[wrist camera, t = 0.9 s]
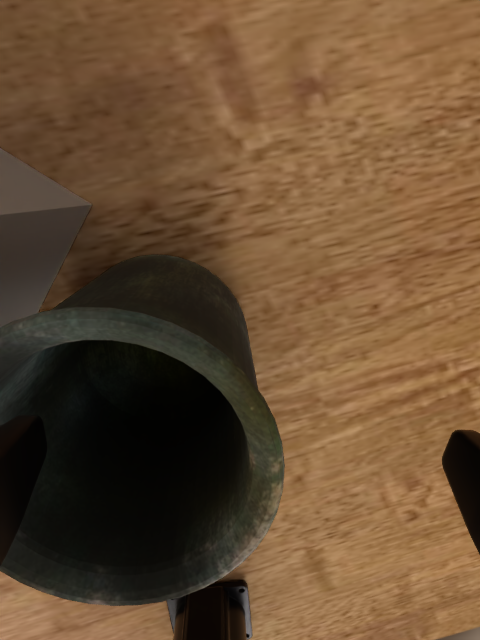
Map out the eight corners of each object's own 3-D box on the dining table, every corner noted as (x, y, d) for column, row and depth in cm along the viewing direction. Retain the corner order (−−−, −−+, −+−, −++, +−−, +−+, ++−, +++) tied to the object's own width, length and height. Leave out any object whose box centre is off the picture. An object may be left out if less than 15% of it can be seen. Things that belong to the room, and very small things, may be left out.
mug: (232, 225, 21) (246, 269, 9) (277, 438, 26) (322, 636, 14) (44, 267, 21) (-164, 358, 10) (124, 469, 26) (49, 688, 14)
